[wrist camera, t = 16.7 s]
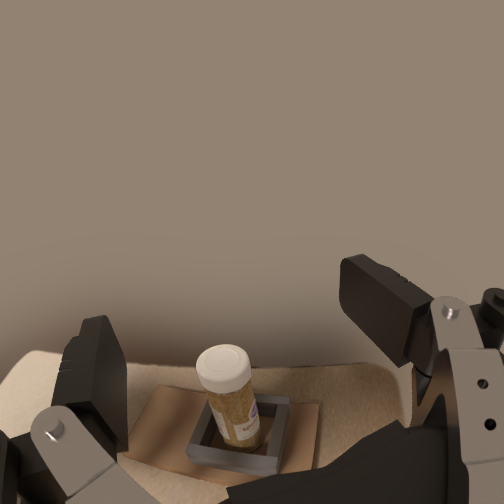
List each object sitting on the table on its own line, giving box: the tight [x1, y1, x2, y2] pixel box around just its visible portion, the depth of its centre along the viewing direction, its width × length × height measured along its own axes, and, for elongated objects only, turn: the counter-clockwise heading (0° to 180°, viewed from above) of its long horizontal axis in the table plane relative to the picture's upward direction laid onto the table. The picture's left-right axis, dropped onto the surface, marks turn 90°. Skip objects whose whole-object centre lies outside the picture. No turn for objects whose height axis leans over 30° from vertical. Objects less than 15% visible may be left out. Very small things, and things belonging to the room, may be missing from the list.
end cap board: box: [122, 385, 319, 486], centre depth 30 cm, size 22×12×4 cm, turn 77°
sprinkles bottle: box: [196, 344, 263, 454], centre depth 27 cm, size 5×5×14 cm
